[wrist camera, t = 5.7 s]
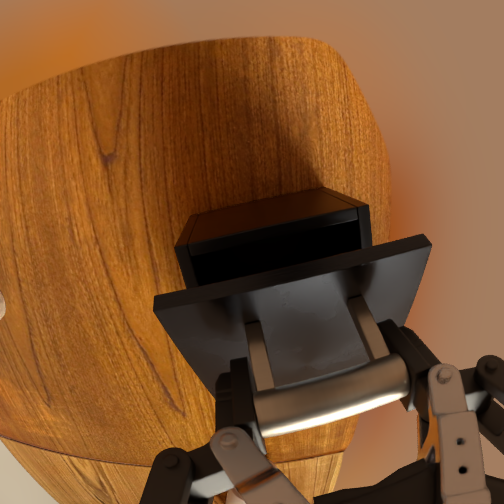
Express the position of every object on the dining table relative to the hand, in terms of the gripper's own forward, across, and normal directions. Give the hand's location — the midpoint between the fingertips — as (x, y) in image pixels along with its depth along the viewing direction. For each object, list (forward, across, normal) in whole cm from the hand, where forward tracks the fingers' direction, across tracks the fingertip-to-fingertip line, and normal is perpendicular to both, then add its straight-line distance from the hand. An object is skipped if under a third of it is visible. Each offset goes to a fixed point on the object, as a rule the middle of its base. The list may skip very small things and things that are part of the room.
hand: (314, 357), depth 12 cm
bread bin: (+15, 0, +3) cm, 15 cm away
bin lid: (+4, 0, +3) cm, 4 cm away
